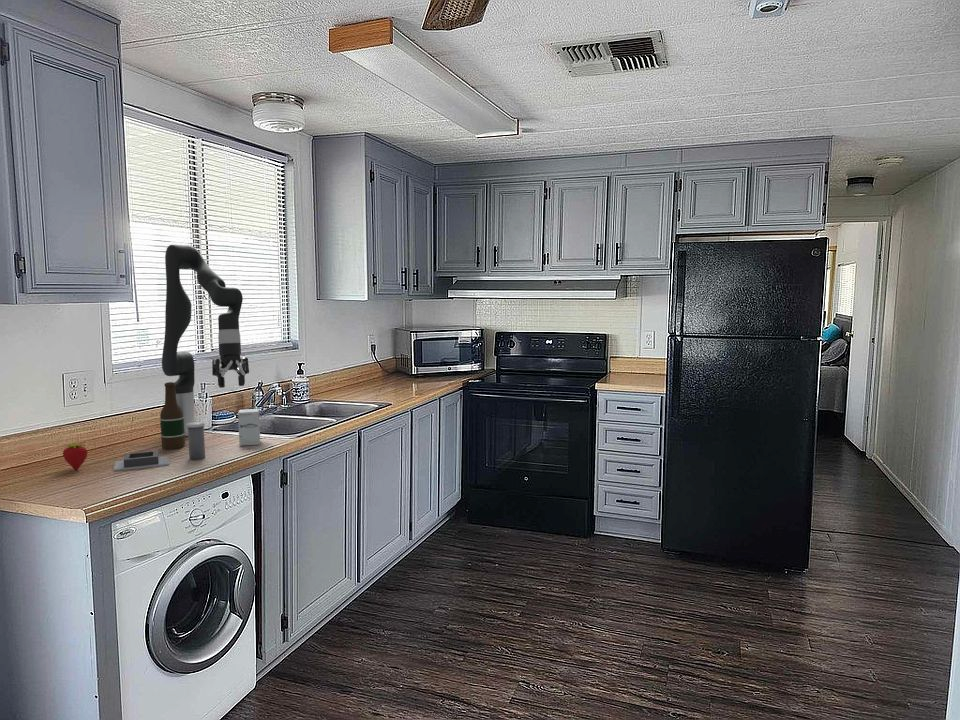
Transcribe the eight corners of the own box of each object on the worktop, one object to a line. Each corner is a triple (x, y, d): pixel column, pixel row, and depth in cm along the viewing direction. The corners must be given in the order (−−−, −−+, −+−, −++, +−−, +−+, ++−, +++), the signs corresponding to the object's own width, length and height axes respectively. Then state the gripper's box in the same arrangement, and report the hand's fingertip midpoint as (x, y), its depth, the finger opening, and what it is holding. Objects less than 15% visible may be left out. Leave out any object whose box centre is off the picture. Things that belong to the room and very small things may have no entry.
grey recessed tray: (115, 463, 227) (115, 453, 226) (168, 457, 233) (167, 448, 233) (113, 471, 216) (112, 461, 215) (168, 465, 222) (168, 456, 222)
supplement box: (238, 446, 249) (237, 412, 248) (240, 442, 256) (238, 409, 255) (260, 445, 251) (258, 411, 250) (260, 440, 258) (259, 408, 257)
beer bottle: (173, 450, 244) (169, 384, 242) (157, 449, 247) (153, 383, 244) (189, 445, 251) (186, 381, 249) (173, 444, 254) (169, 380, 252)
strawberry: (73, 466, 222) (71, 436, 221) (93, 467, 221) (91, 437, 220) (59, 471, 217) (56, 440, 216) (79, 472, 215) (77, 441, 214)
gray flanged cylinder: (187, 457, 233) (185, 423, 232) (205, 455, 236) (204, 421, 234) (188, 461, 228) (186, 425, 227) (207, 459, 230) (205, 424, 229)
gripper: (238, 342, 254) (240, 385, 255) (206, 342, 242) (208, 388, 242) (252, 341, 251) (254, 385, 251) (219, 342, 238) (222, 388, 239)
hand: (231, 386), depth 247 cm, fingers open, 8 cm apart
